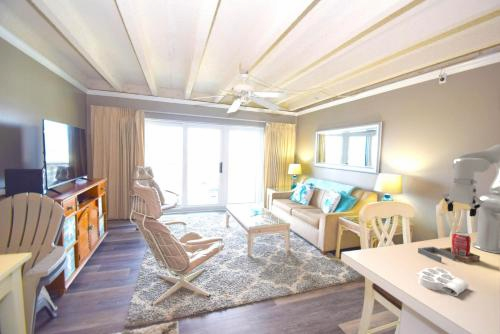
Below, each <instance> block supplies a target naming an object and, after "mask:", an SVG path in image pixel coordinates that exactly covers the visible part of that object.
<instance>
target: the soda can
mask: <svg viewBox="0 0 500 334" xmlns="http://www.w3.org/2000/svg"><path fill="white" fill-rule="evenodd" d="M470 236H471V235H470V234H468V233H466V232H461V231H454V233H453V234H452V237H451V245H450V247H451V252H452V253H454V254H457V255H460V256H462V257H467V256H469V254H470V253H471V245H472V244H471V243H472V239H471V237H470Z"/></svg>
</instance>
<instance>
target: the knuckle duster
mask: <svg viewBox="0 0 500 334" xmlns="http://www.w3.org/2000/svg"><path fill="white" fill-rule="evenodd" d="M415 274H416V275H418V284H419V285H420V286H422V287H424V288H426V289H429V290H434V291H435V290H436V291H437V290H438V291H442V292H444V293H446V294H448V295H450V296H453V297H455V296H456V297H459V295H460V294H461V293H463V292H464V291H465V290H466V289H468V288H469V284H468V282H466V281H465V280H463V279H461V278H459V277H457V276H454V275H453V274H452V273H451V272H450V271H449V270H447V269H444V268H441V267H433V268H431V267H430V268H429V267H427V268H424V269H421V270H420V272H416V273H415ZM452 291H453V292H452Z"/></svg>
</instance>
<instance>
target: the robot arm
mask: <svg viewBox="0 0 500 334" xmlns="http://www.w3.org/2000/svg"><path fill="white" fill-rule="evenodd" d="M491 165H494V167H495V170H496V174H495V177H494V179H493V180H492V183H490V186H489V190H488V192H489V193H490V194H482V195H480V196H479V197H478V193H477V192H478V191H477V187H476V184H477V183H478V181H477V180H475V173H485V172H487V171H488V170H490V169H491ZM451 166H452V168H453V169H454V173H453V174H454V175H453V182H452V183H451V186H450V189H449V193H446V194H443V195H442V198H443V199H444V201H445V203H446V204H447V211H448V212H454V203H460V204H464V205H468V206H469V207H470V208H469V216H470V217H476V215H477V210H478V219H477V232H476V239H475V240H476V241H475V242H471V243H472V244H471V245H472V247H473V248H476V249H477V250H480V251H483V252H486V253H487V252H488V253H494V254H499V255H500V143H498V144H495V145H493V146H491V147H489V148H486V149H484V150H480V151H475V152H470V153H465V154H462V155H460V156H457V157H456V158H455V159H454V160H453V161H452V165H451Z"/></svg>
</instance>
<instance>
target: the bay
mask: <svg viewBox="0 0 500 334" xmlns="http://www.w3.org/2000/svg"><path fill="white" fill-rule="evenodd" d="M417 249H418V250H417V253H418V254H420V255H422V254H423V255H422V256H424V255H425V257H427V258H429V259H431V260H433V261H436V262H437V263H441V262H442V256H443V257H445V258H448V259H450V260H451V261H456V260H455V256H456V255H453V254H451V253H448V252H446V251H443V250H441V249H440V248H437V247H435V246H425V247H424V246H423V247H418V248H417ZM432 252H433V253H432ZM434 253H435V254H434Z"/></svg>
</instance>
